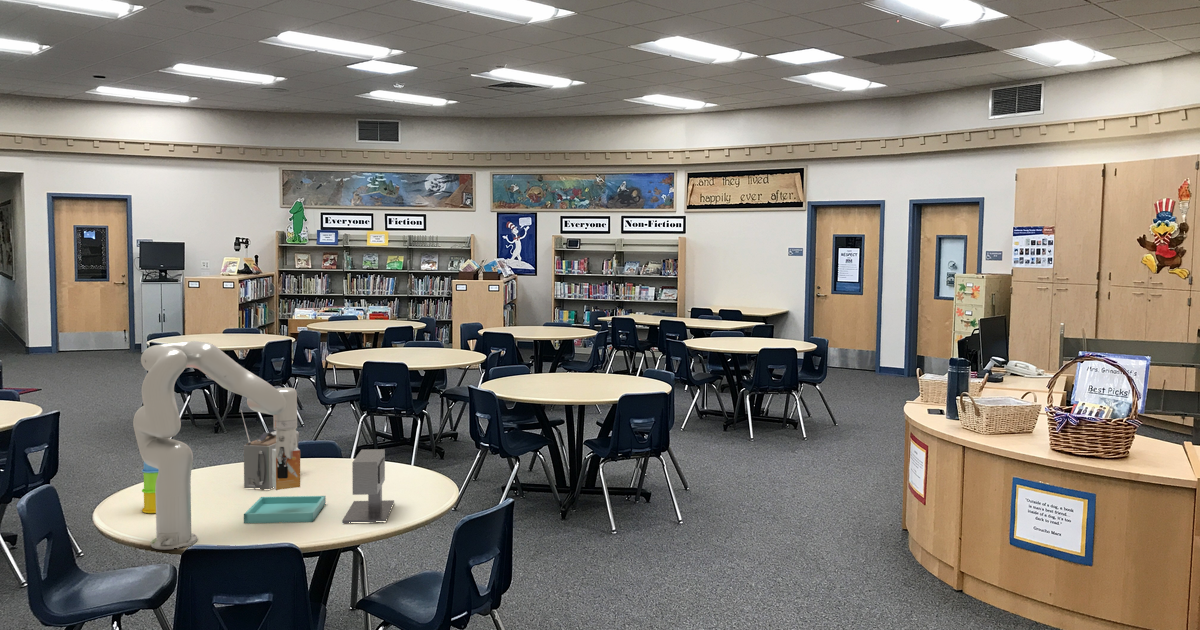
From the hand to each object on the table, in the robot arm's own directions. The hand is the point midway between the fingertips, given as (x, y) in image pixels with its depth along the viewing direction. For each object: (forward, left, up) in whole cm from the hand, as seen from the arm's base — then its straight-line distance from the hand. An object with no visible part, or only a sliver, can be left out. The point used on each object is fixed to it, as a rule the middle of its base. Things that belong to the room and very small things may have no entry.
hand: (286, 474), depth 283 cm
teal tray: (0, 0, -13) cm, 13 cm away
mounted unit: (-2, -28, -13) cm, 31 cm away
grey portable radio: (+41, +16, -14) cm, 46 cm away
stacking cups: (+7, +44, -14) cm, 47 cm away
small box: (0, 0, -4) cm, 4 cm away
